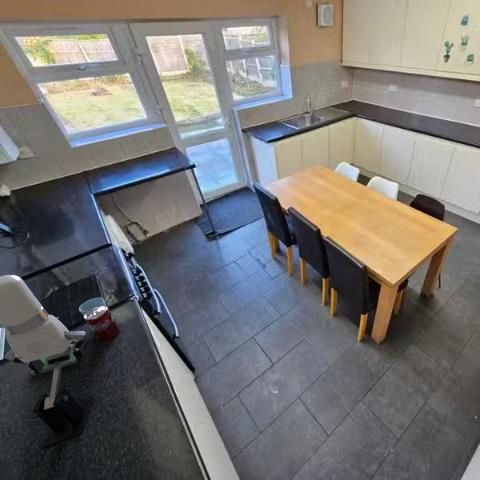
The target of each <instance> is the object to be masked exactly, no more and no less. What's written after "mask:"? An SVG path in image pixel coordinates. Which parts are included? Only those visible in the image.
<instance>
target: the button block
mask: <svg viewBox="0 0 480 480" xmlns="http://www.w3.org/2000/svg"><path fill="white" fill-rule="evenodd" d="M86 343H89V342H88V340H87V338H85V340H84V342H83V344H82V347H83V349H84V348H85V345H86ZM70 345H72V346H75V345H74V344H70ZM66 355H69V356H70V360H67V361H63V362H62V367H61V368H63V367H67V366H71V365H74V364H77V363H78V360H77V359H76V358H75V356H74V355H73V351H71V350H66V351H65V352H62V353H59V354H57V355H55V356H49V357H45V358H42V359H41V361H42V362H43V363H44V364H45V366H44V368H43V369H42V371H41V373H40V374H43V373H47V372H50V371H54V368H55V364H53V365H48V360H52V359H55V358H59V357H62V356H66ZM30 375H31V376H36V374H35V372H34V371H32V370H31V372H30Z"/></svg>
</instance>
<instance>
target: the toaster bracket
mask: <svg viewBox="0 0 480 480" xmlns="http://www.w3.org/2000/svg"><path fill="white" fill-rule="evenodd" d="M47 397H49V395H47V394H46V393H42V394H40V396H39V398H38V400H37V402H36V404H35V405H34V408H33V410H32V412H33V413H34V414H35V415H36V416H37V417H38V418H39V419H41V420H42V422H43V423H44V424H46V425H47V426H48V428H49V429H50V431H49V432H48V435H47V437H46V440H45V441H44V444H43V448H47V447H49V446H52V445H54V444H57V443H60V442H62V441H65V440H68V439H70V438H74V437H76V436H80V435H81V434H82V433H83V429H84V427H85V424H86V421H87V418H88V415H89V413H90V409H91V407H92V404H93V400H94V399H93V398H89V399H86V400H83V401H80V402H78V401H77V400H76V399H75V398H74V397H73V396H72V395H71V394H70V393H69V392H68V390H67V389H66V388H65V387H61V388H58V394H57V396H56V398H55V400H54V402H53V406H54V407H55V408H56V409H53V410H50V411H48V410H43V409H44V403H45V398H47Z"/></svg>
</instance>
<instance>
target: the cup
mask: <svg viewBox="0 0 480 480" xmlns="http://www.w3.org/2000/svg"><path fill="white" fill-rule="evenodd" d="M98 306H106V307H107V304H106V302H105V299H104V298H103V297H94V298H90V299H89V300H86V301H84V302H83V303H82V304H81V305H80V306H79V307H78V311H79V312H80V313H81V314H82V316H83V317H84V316H85V314H86V313H87V312H88V311H89V310H91V309H93V308H95V307H98Z"/></svg>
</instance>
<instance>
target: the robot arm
mask: <svg viewBox="0 0 480 480" xmlns="http://www.w3.org/2000/svg"><path fill="white" fill-rule="evenodd" d="M2 328H3V329H4V330H5V331H6V332H5V333H4V335H5V338H6V341H7V343H8V345H9V347H10V348H11V349H10V350H8V352H6V353H5V355H4V357H3V358H4V359H6V360H8V361H11V362H13V363H15V364H22V366H23V367H28V368H29V369H30V370H31V371H34V372H35V374H36V375H40V374H42V373H41V371H42V369H43V368H44V366H45V364H44V363H43V362H42V361H41V359H42V358H45V357H49V356H52V355H56V354H59V353H62V352H65V351H66V350H71V351H73V355H74V356H75V358H76V359H77V360H78V362H79V363H80V362H83V360H84V358H85V356H86V354H87V352H86V350H85V349H84V348H83V347H82V344H83V342H84V340H85V339H86V334H87V333H86V332H85V331H70V330H69V329H68V328H67V327H66V326H65V325H64V324H63V323H62V321H60V320H59V319H58V318H57V317H56V316H54V315H53V314H49V313H48V312H47V310H46V309H45V308H44V307H43V305H42V303H40V301H39V300H38V299H37V297H36V296H35V295H34V293H33V292H32V291H31V289H30V288H29V286H28V285H27V284H26V282H25V281H24V280H23V279H22V278H21V277H20V276H18V275H15V274H7V275H2V276H0V329H2ZM70 344H74V345H75V346H72V345H70ZM78 362H77V363H78ZM36 375H35V376H36Z"/></svg>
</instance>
